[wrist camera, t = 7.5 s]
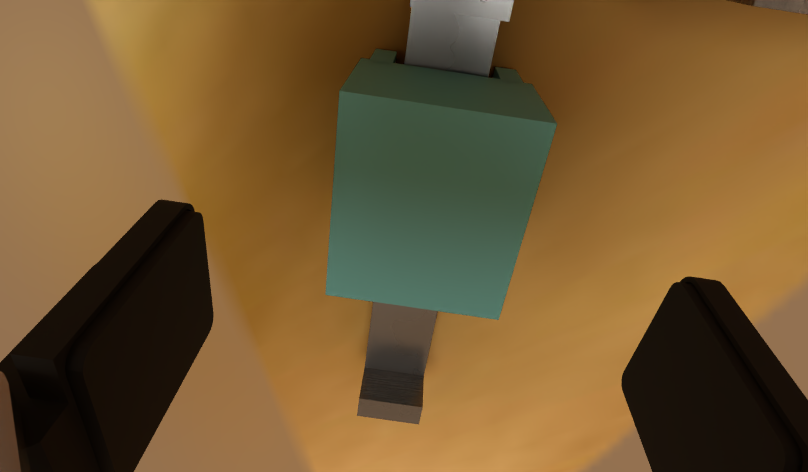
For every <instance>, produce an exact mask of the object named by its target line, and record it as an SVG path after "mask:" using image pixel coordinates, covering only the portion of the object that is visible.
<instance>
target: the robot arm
mask: <svg viewBox="0 0 808 472" xmlns="http://www.w3.org/2000/svg"><path fill="white" fill-rule="evenodd" d="M212 323H213V306H212V297H211V288H210V278H209V269H208V260H207V250H206V241H205V232H204V223H203V217H202V215H201V213H199V212H195V211H194V208H193V206H192V205H191V204H188V203H182V202H175V201H168V200H158V201H157V202H156V203H155V204H154V205H153V206H152V207H151V208H150V209H149V210H148V211H147V212H146V213H145V214H144V215H143V216H142V217H141V218H140V219H139V220H138V221H137V222H136V223H135V224H134V225H133V226H132V228H131V229H130V230H129V231H128V232H127V233H126V234H125V235H124V236H123V237H122V238H121V239H120V240H119V241H118V242H117V243H116V244H115V245H114V246H113V247H112V248H111V250H109V251H108V253H107V254H106V255H105V256H104V257H103V258H102V259H101V260H100V261H99V262H98V263H97V264H95V265H94V266H93V267H92V268H91V269H90V270H89V271H88V272H87V273H86V274H85V275H84V276H83V277H82V278H81V279H80V280H79V281H78V282H77V283H76V285H75V286H74V287H73V288H72V289H71V290H70V291H69V292H68V293H67V294H66V295H65V296H64V297H63V298H62V299H61V300H60V301H59V302H58V303H57V304H56V305H55V306H54V307H53V308H52V309H51V310H50V311H49V313H48V314H47V315H46V316H45V317H44V318H43V319H42V320H41V321H40V322H39V323H38V324H37V325H36V326H35V327H34V328H33V329H32V330H31V331H30V332H29V333H28V334H27V335H26V337H24V338H23V339H22V341H21V342H20V343H19V344H18V345H17V346H16V347H15V348H14V349H13V350H12V351H11V352H10V353H9V354H8V355H7V356H6V357H5V358H4V359H3V360H2V361H1V362H0V472H134V470H135V468H136V467H137V465H138V463H139V461H140V459H141V457H142V456H143V454H144V452H145V450H146V448H147V446H148V444H149V443H150V441H151V439H152V437H153V435H154V433H155V432H156V430H157V428H158V426H159V424H160V422H161V421H162V419H163V417H164V415H165V413H166V411H167V410H168V408H169V406H170V404H171V402H172V400H173V398H174V396H175V395H176V393H177V391H178V389H179V387H180V386H181V384H182V382H183V380H184V378H185V376H186V375H187V373H188V371H189V369H190V367H191V365H192V363H193V362H194V360H195V358H196V356H197V354H198V353H199V351H200V349H201V347H202V345H203V343H204V342H205V340H206V338H207V336H208V334H209V332H210V330H211V327H212ZM622 390H623V393H624V396H625V398H626V401H627V404H628V407H629V409H630V412H631V415H632V417H633V420H634V423H635V426H636V428H637V431H638V434H639V437H640V439H641V442H642V445H643V447H644V450H645V453H646V456H647V458H648V461H649V464H650V466H651V469H652V472H808V400H807V399H806V397H805V396H804V394H803V393H802V391H801V390H800V389H799V388H798V386H797V385H796V383H795V382H794V381H793V379H792V378H791V376H790V375H789V374H788V372H787V371H786V370H785V368H784V367H783V366H782V364H781V363H780V361H779V360H778V359H777V357H776V356H775V355H774V353H773V352H772V351H771V349H770V348H769V347H768V345H767V344H766V343H765V341H764V340H763V338H762V337H761V336H760V334H759V333H758V331H757V330H756V329H755V327H754V326H753V325H752V323H751V322H750V320H749V319H748V318H747V316H746V315H745V314H744V312H743V311H742V310H741V308H740V307H739V305H738V304H737V303H736V301H735V300H734V299H733V297H732V296H731V295H730V293H729V292H728V290H727V289H726V288H725V286H724V285H723V284H722V283H721V282H719V281H716V280H710V279H703V278H696V277H685V278H684V279H682V280H681V281H680V282H676V283H674V284H673V285H672V286H671V287H670V289H669V291H668V293H667V294H666V296H665V298H664V300H663V302H662V304H661V305H660V307H659V309H658V311H657V313H656V314H655V316H654V318H653V320H652V322H651V323H650V325H649V327H648V329H647V331H646V332H645V334H644V336H643V338H642V340H641V341H640V343H639V345H638V347H637V349H636V351H635V352H634V354H633V356H632V358H631V360H630V361H629V363H628V365H627V367H626V369H625V370H624V373H623V375H622Z"/></svg>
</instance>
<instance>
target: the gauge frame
mask: <svg viewBox="0 0 808 472" xmlns="http://www.w3.org/2000/svg"><path fill="white" fill-rule="evenodd" d="M728 1H733V2H737V3H742V4H747V5H751V6H757V7H763V8H770V9H776V10H783V11H789V12H795V13H802V14H808V0H728Z"/></svg>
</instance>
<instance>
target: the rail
mask: <svg viewBox="0 0 808 472" xmlns="http://www.w3.org/2000/svg"><path fill="white" fill-rule="evenodd" d="M513 3H514V0H410V7H412V10H411V17H410V25H409V33H408V40H407V48H406V55H405V63H404V65H411V66H417V67H424V68H430V69H437V70H443V71H450V72H457V73H463V74H470V75H476V76H483V77H488V76H489V72H490V67H491V62H492V58H493V53H494V48H495V44H496V39H497V35H498V30H499V25H500V21H506V22H509V21H510V16H511V12H512V7H513ZM437 312H438V311H434V310H427V309H420V308H413V307H407V306H400V305H393V304H386V303H379V302H373V308H372V316H371V323H370V331H369V339H368V346H367V354H366V362H365V369H364V375H363V380H362V386H361V392H360V397H359V405H358V413H357V416H363V417H371V418H378V419H385V420H392V421H399V422H406V423H413V424H419V421H420V416H421V412H422V407H423V380H424V372H425V367H426V363H427V358H428V353H429V349H430V344H431V340H432V335H433V330H434V326H435V321H436V316H437Z"/></svg>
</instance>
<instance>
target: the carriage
mask: <svg viewBox="0 0 808 472" xmlns="http://www.w3.org/2000/svg"><path fill="white" fill-rule="evenodd" d="M396 55H397V52H396V51H389V50H383V49H375V51H374V53H373V55H372V56H371V58H370V59H365V58H361V59H360V61H359V62H358V64H357V65H356V67H355V68H354V70H353V71H352V73H351V74H350V76H349V77H348V79H347V80H346V82H345V83H344V85H343V86H342V88H341V89H340V91H339V105H338V120H337V134H336V149H335V164H334V178H333V193H332V208H331V222H330V237H329V252H328V266H327V281H326V295H331V296H338V297H345V298H351V299H358V300H365V301H372V302H379V303H386V304H393V305H400V306H407V307H413V308H420V309H427V310H434V311H441V312H448V313H455V314H462V315H469V316H475V317H482V318H489V319H496V320H499V317H500V313H501V310H502V307H503V303H504V300H505V296H506V293H507V290H508V286H509V283H510V280H511V276H512V273H513V270H514V266H515V263H516V260H517V256H518V253H519V250H520V246H521V243H522V240H523V236H524V233H525V230H526V226H527V223H528V220H529V216H530V213H531V210H532V206H533V203H534V200H535V196H536V193H537V190H538V186H539V183H540V180H541V176H542V173H543V170H544V166H545V163H546V160H547V156H548V153H549V150H550V146H551V143H552V140H553V136H554V133H555V130H556V126H557V123H556V121H555V120H554V118H553V116H552V115H551V113H550V112H549V110H548V109H547V107H546V105H545V104H544V102H543V101H542V99H541V98H540V96H539V94H538V93H537V91H536V90H535V88H534V87H533V85H532V84H529V83H523V81H522V80H521V78H520V76H519V74H518V73H517V71H516V70H513V69H507V68H500V67H495V70H494V75H493V78H489V77H483V76H476V75H470V74H463V73H457V72H450V71H443V70H437V69H430V68H424V67H417V66H411V65H404V64H398V63H396Z"/></svg>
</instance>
